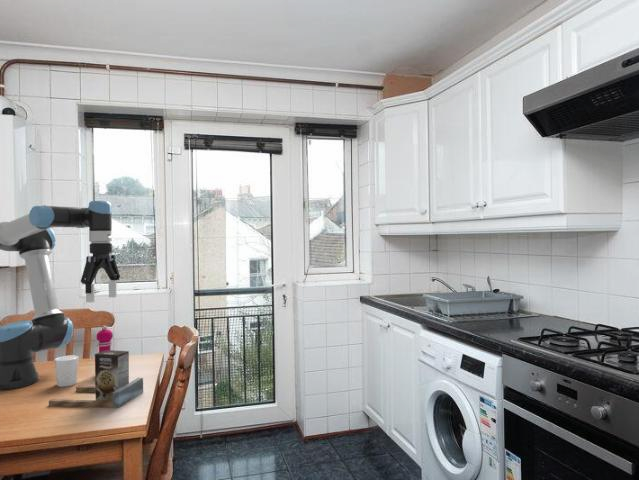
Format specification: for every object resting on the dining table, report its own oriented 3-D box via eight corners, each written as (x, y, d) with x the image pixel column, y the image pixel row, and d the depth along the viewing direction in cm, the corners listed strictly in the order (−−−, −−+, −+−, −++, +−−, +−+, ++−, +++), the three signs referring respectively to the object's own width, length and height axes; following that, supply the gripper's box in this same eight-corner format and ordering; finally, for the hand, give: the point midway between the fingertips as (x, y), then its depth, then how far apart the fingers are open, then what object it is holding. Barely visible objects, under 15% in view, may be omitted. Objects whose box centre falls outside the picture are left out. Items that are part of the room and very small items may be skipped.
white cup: (68, 387, 165) (67, 361, 165) (50, 386, 167) (49, 360, 167) (83, 381, 173) (83, 355, 173) (66, 380, 175) (65, 354, 175)
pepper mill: (109, 377, 177) (108, 327, 177) (92, 377, 177) (91, 327, 177) (118, 371, 184) (117, 324, 184) (101, 372, 185) (100, 324, 184)
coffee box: (94, 401, 151) (93, 354, 151) (107, 394, 157) (106, 349, 157) (117, 403, 148) (116, 355, 148) (130, 396, 155) (129, 350, 155)
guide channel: (48, 405, 147) (48, 390, 147) (79, 390, 162) (78, 376, 162) (119, 407, 144) (118, 392, 144) (143, 391, 159) (142, 377, 159)
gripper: (88, 242, 152) (89, 304, 152) (128, 242, 177) (129, 295, 177) (68, 243, 153) (69, 304, 153) (111, 242, 178) (112, 295, 178)
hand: (101, 299), depth 165 cm, fingers open, 13 cm apart
